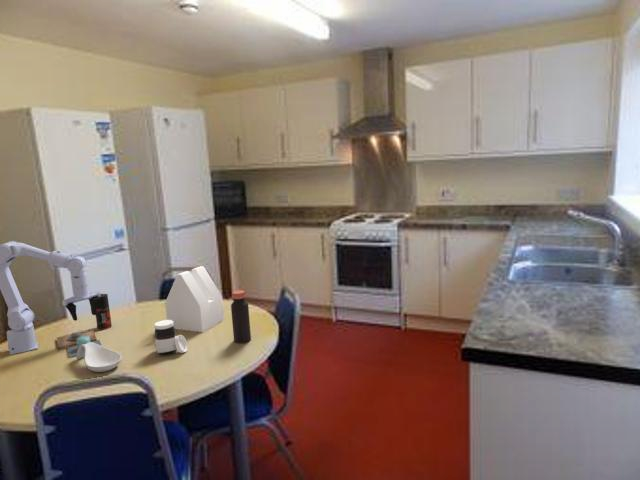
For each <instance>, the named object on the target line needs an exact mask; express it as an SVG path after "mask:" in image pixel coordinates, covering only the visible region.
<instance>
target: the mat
mask: <svg viewBox="0 0 640 480" xmlns="http://www.w3.org/2000/svg"><path fill="white" fill-rule="evenodd" d="M92 342H93V343H96V344H98V345H100V346H103V345H102V344H101V341H100V339H97V341H92ZM77 350H78V345H75V346H70V347H67V348H66V351H67V356H68V358H69V359H70V358H75V357H76V356H77Z"/></svg>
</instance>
